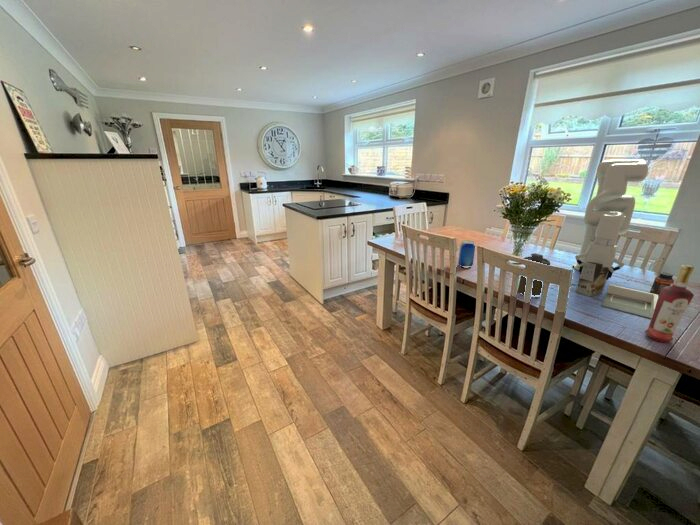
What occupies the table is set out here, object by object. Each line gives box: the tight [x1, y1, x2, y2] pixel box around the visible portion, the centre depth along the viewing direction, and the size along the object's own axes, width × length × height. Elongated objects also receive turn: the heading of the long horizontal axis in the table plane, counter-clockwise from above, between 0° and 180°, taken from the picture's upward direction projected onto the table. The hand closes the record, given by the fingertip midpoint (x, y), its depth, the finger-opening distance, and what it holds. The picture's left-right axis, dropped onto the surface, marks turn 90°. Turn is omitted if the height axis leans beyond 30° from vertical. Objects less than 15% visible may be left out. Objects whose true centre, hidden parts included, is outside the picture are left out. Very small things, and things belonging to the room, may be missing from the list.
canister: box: [517, 253, 551, 296], centre depth 131 cm, size 11×10×20 cm
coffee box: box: [575, 262, 609, 297], centre depth 131 cm, size 9×6×16 cm
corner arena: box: [601, 284, 658, 320], centre depth 121 cm, size 18×16×4 cm
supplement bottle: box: [649, 271, 675, 297], centre depth 126 cm, size 6×6×11 cm
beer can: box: [457, 239, 476, 267], centre depth 167 cm, size 8×8×16 cm
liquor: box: [644, 264, 695, 343], centre depth 94 cm, size 7×7×28 cm
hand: (593, 276), depth 130 cm, fingers open, 9 cm apart
